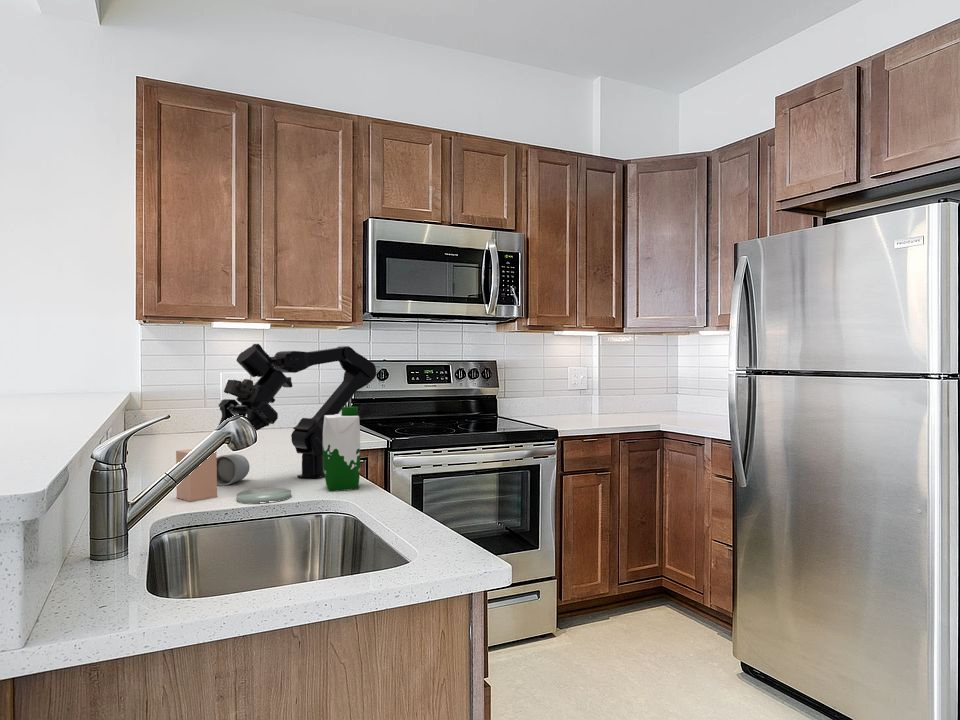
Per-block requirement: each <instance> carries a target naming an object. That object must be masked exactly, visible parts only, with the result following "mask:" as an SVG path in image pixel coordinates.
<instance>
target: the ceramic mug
mask: <svg viewBox="0 0 960 720" xmlns="http://www.w3.org/2000/svg"><path fill="white" fill-rule="evenodd" d="M250 468H251V467H250V462H249V460H248V459H247V457H245V456H244V455H243V454H237V453H232V454H223V455H219V456H217V486H220V485H221V486H224V487H225V485H226V486H229V485H232V484H235V483H237V482H239V481H241V480H244V479H245V478H246V477H247V476H248V475H249V472H250ZM221 486H220V487H221Z"/></svg>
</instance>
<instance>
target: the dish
mask: <svg viewBox="0 0 960 720" xmlns="http://www.w3.org/2000/svg"><path fill="white" fill-rule="evenodd" d="M235 497H236V500H237V501H238V502H237V501H236V500H235V501H236V502H237V503H239V502H242V503H241V504H245V503H260V502H269V501H279V500H283V499H286V500H288V499H287V498H289V497H290V498H292V490H291V489H289V488H285V487H284V488H283V487H261V488H252V489H246V490H243V491H240V492H238V493H236V495H235ZM290 498H289V499H290ZM283 501H284V500H283ZM279 502H280V501H279Z"/></svg>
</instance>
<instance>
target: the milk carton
mask: <svg viewBox="0 0 960 720" xmlns="http://www.w3.org/2000/svg"><path fill="white" fill-rule="evenodd" d="M359 415H360V414H359V407H358V406H356V405H355V406H353V405H352V406H344V407H342V410H341V414H340V413H339V414H335V415H324V425H323V470H324V475H325V476H324V479H325V484H326V487H327V490H328V492H335V491H336V490H339V491H348V490H347V489H352V490H359V486H360V478H361V477H360V476H361V475H360V474H361V428H360V423H361V422H360V416H359ZM336 492H337V491H336Z"/></svg>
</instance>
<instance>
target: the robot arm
mask: <svg viewBox="0 0 960 720" xmlns="http://www.w3.org/2000/svg"><path fill="white" fill-rule="evenodd" d="M236 362H237V363H238V364H239V365H240V367H242V369H243V370H245V371H246V373H248V375H250V376H251V377H252V378H255V377H258V378H259V379H258V380H257V381H256V382H255V383H254V380H251V379H249V378H244V379H243V380H238V379H237V380H236V379H228V380H227V382H226V384H225V387H224V389H223V393H224V394H229V395H232V396H234V397H236V399H232V398H231V399H230V398H226V399H222V400H221V401H220V403H219V404H218V408H219V411H221V418H220V422H219V423H218V426H219V425H220V424H221V423H222V422H223V421H224V420H226V419H227V418H230V417H232V416H234V415H237V414H239V415H243V416H245V417H246V419H247V418H248V419H249V420H250V421H251V422H252V424H253V425H254V427H255V429H256V431H255V432H257V431H259V430H261V429H263V428H265V427H269V426H270V425H274V424H275V423H276V421H278V418H279V416H278V412H277V411H276V410H275V409H274V407H273V406H271V404H274V403H275V401H276V399H275V396H276V395H277V394H278V393H279V392H280V390H281V389H282V388H292V387H293V381H292V377H291V376H290V377H289V376H286V375H285V374H286V373H288V374H291V373H293V374H294V373H295V374H296V373H299V372H301V371H304V370H306V369H309V367H312V366H317V365H322V364H328V363H334V362H339V365H340V366H341V369H342V370H343V371H344V374H343V381H342V382H341V383H340V384H339V386H338V387H337V388H336V389H335V390H334V392H333V393H332V394H331V395H330V396H329V398H328V399H327V400H326V401H325V403H323V405H322V406H321V407H320V408H319V410H318V411H316V413H315V415H313V417H311V418H309V417H302V418H301V419H300V420H299V422H298V423H297V424H296V425H295V426H294V427H293V428H292V429H293V431H292V433H291V435H290V438H291V443H292V445H293V447H295V450H296V453H297V454H301V474H297V476H296V477H297V478H299V479H300V478H303V479H320V478H322V477H325V475H324V470H323V425H324V415H335V414H340V412H342V407H346V405H347V403H349V401H350V400H351V399H352V397H354V395H355V394H356V392H357V391H360V390H361V389H362V388H364V387H366V386H368V385H369V384H370V383H371V382H372V381H373V380H374V379H375V378H376V376H377V367H376V365H375V364H374V363H373V362H372V361H370V360H368V358H367V357H364V356H363V355H361V354H360V353H358V352H356V351H355V350H354V349H353V348H352V347H350V346H345V345H343V346H337V347H332V348H327V349H319V350H312V351H311V350H310V351H299V350H288V351H287V350H285V351H282V350H280V351H278V352H276V353H275V355H274V356H270V355H269V354H268V353H267V352H266V351H265V350H264V348H263V347H262V346H261V345H260V344H259V343H253V344H252V345H251V346H249V347H248V348H246V349H244V350H243V351H241V352H240V353H239V355H238V356H237V358H236Z"/></svg>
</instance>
